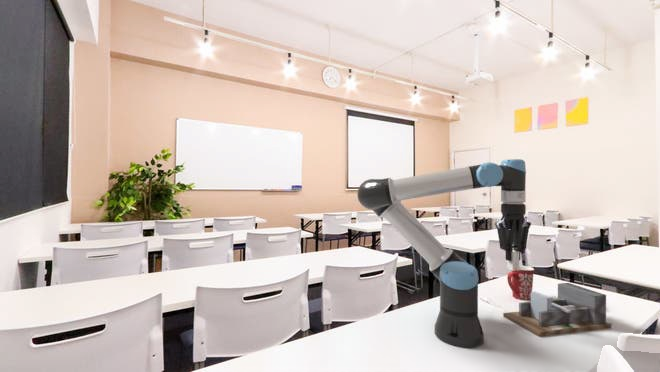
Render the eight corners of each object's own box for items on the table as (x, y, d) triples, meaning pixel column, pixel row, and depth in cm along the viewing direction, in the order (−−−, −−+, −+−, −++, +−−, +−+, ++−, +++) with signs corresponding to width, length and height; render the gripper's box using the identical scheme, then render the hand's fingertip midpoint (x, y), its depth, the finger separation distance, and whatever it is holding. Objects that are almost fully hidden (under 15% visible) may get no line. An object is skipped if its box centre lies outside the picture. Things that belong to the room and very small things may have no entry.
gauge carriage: (556, 328, 105) (556, 302, 105) (530, 315, 116) (530, 291, 116) (577, 326, 107) (577, 300, 107) (549, 314, 118) (549, 290, 118)
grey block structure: (539, 336, 103) (539, 302, 103) (503, 316, 119) (503, 286, 119) (611, 328, 109) (611, 295, 109) (567, 310, 125) (567, 281, 125)
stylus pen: (476, 298, 139) (476, 293, 138) (481, 297, 139) (481, 293, 139) (503, 313, 124) (503, 308, 124) (508, 312, 125) (508, 307, 125)
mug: (520, 293, 145) (520, 264, 145) (539, 299, 136) (539, 269, 136) (499, 296, 141) (499, 266, 141) (516, 303, 133) (517, 271, 133)
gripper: (503, 203, 105) (503, 273, 105) (539, 203, 108) (538, 271, 108) (488, 202, 112) (488, 267, 112) (521, 202, 115) (521, 265, 115)
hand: (513, 269), depth 110 cm, fingers closed
